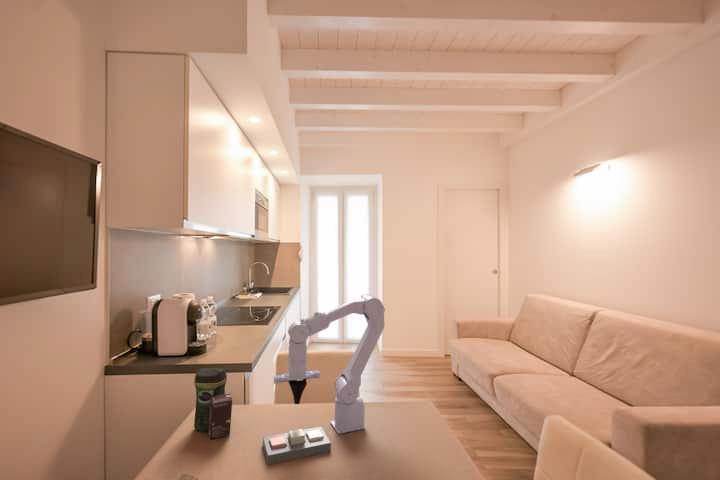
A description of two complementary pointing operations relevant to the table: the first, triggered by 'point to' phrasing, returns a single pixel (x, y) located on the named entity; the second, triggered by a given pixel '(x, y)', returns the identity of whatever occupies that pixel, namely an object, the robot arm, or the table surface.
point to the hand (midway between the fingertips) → (296, 402)
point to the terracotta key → (277, 442)
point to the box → (220, 416)
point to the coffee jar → (207, 393)
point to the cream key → (314, 435)
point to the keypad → (295, 447)
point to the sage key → (296, 437)
